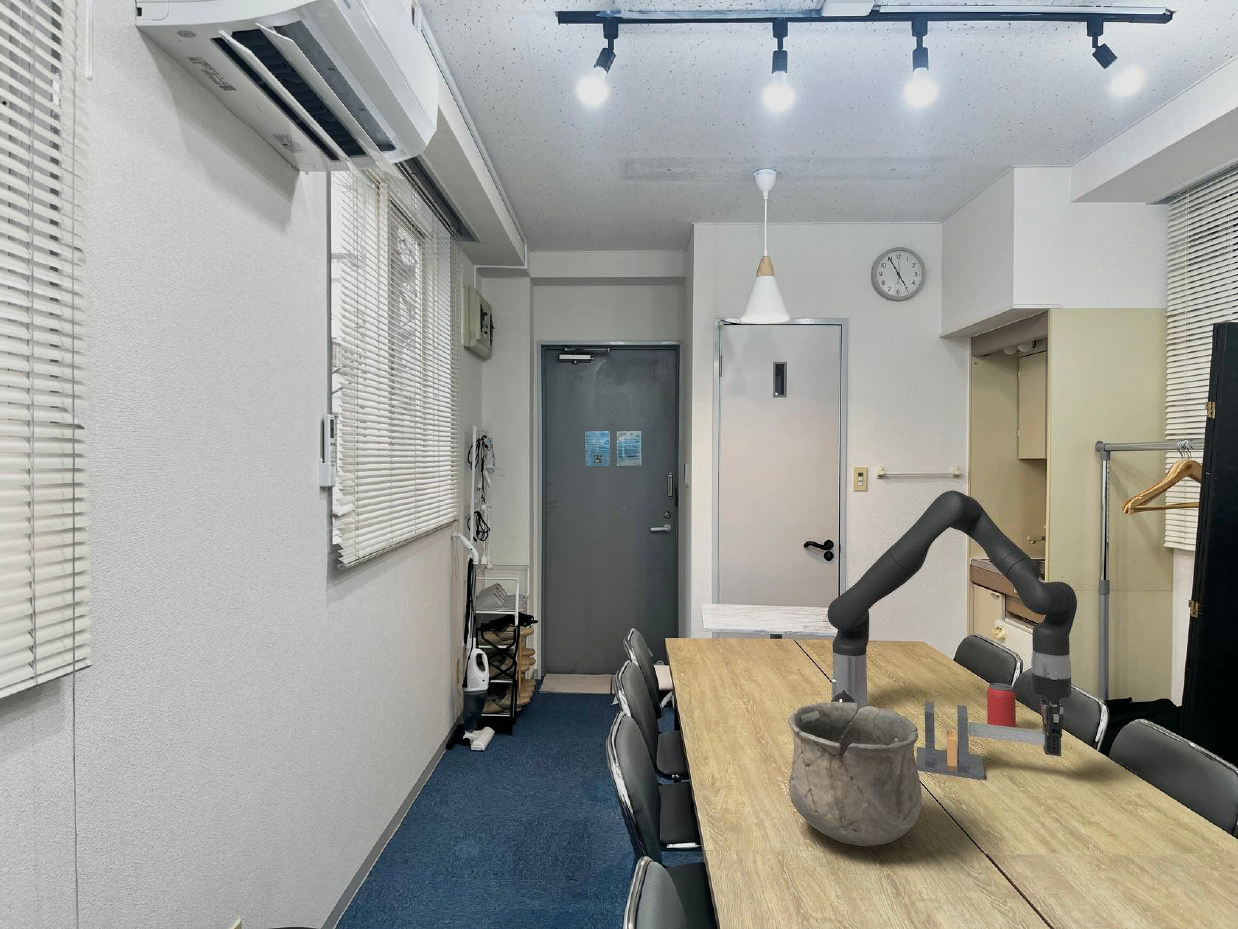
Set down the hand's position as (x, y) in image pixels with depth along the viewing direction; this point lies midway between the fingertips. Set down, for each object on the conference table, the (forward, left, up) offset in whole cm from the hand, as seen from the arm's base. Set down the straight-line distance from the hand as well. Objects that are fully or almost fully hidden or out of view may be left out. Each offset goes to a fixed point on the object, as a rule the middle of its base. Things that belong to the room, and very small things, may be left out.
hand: (1052, 749), depth 155 cm
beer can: (-8, +28, -7) cm, 30 cm away
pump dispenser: (-44, -4, -7) cm, 44 cm away
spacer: (-20, 0, -6) cm, 21 cm away
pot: (-38, -41, -7) cm, 56 cm away
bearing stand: (-21, 0, -7) cm, 22 cm away
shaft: (-7, 0, -1) cm, 8 cm away
